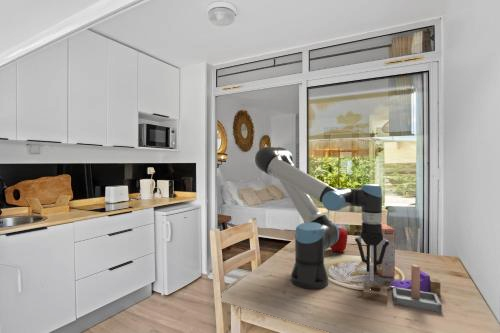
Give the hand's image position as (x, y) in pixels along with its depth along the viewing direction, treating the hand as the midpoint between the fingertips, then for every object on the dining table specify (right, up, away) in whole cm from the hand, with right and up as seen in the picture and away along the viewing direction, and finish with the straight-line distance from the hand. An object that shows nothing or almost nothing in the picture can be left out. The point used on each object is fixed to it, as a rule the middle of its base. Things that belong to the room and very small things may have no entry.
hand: (371, 279), depth 115 cm
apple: (-1, -1, +42) cm, 42 cm away
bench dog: (+20, -2, -9) cm, 22 cm away
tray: (+9, -2, -15) cm, 18 cm away
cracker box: (+10, -2, +13) cm, 17 cm away
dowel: (+9, -1, -15) cm, 18 cm away
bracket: (+12, -2, -5) cm, 13 cm away
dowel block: (-3, -2, -11) cm, 11 cm away
